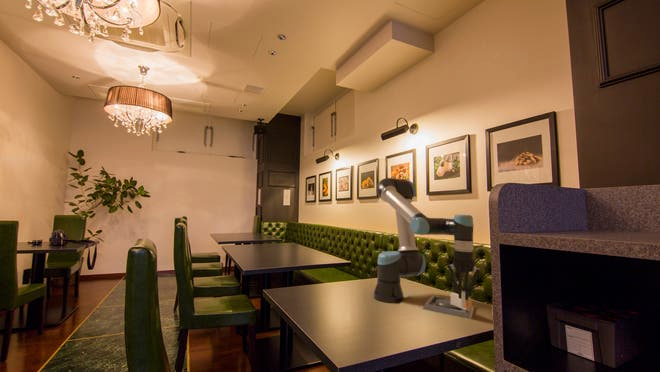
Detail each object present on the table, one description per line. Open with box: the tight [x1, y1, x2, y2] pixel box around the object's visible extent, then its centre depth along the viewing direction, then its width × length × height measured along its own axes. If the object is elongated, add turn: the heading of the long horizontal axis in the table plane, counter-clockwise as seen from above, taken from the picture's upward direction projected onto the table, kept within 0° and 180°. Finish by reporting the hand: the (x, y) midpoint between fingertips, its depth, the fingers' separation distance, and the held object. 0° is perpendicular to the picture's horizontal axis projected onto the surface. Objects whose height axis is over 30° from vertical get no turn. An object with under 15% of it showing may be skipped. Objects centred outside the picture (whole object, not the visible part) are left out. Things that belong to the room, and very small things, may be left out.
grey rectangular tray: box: [421, 295, 475, 320], centre depth 131 cm, size 20×18×3 cm
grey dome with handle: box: [436, 292, 472, 311], centre depth 129 cm, size 17×11×7 cm, turn 24°
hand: (463, 306), depth 121 cm, fingers closed
